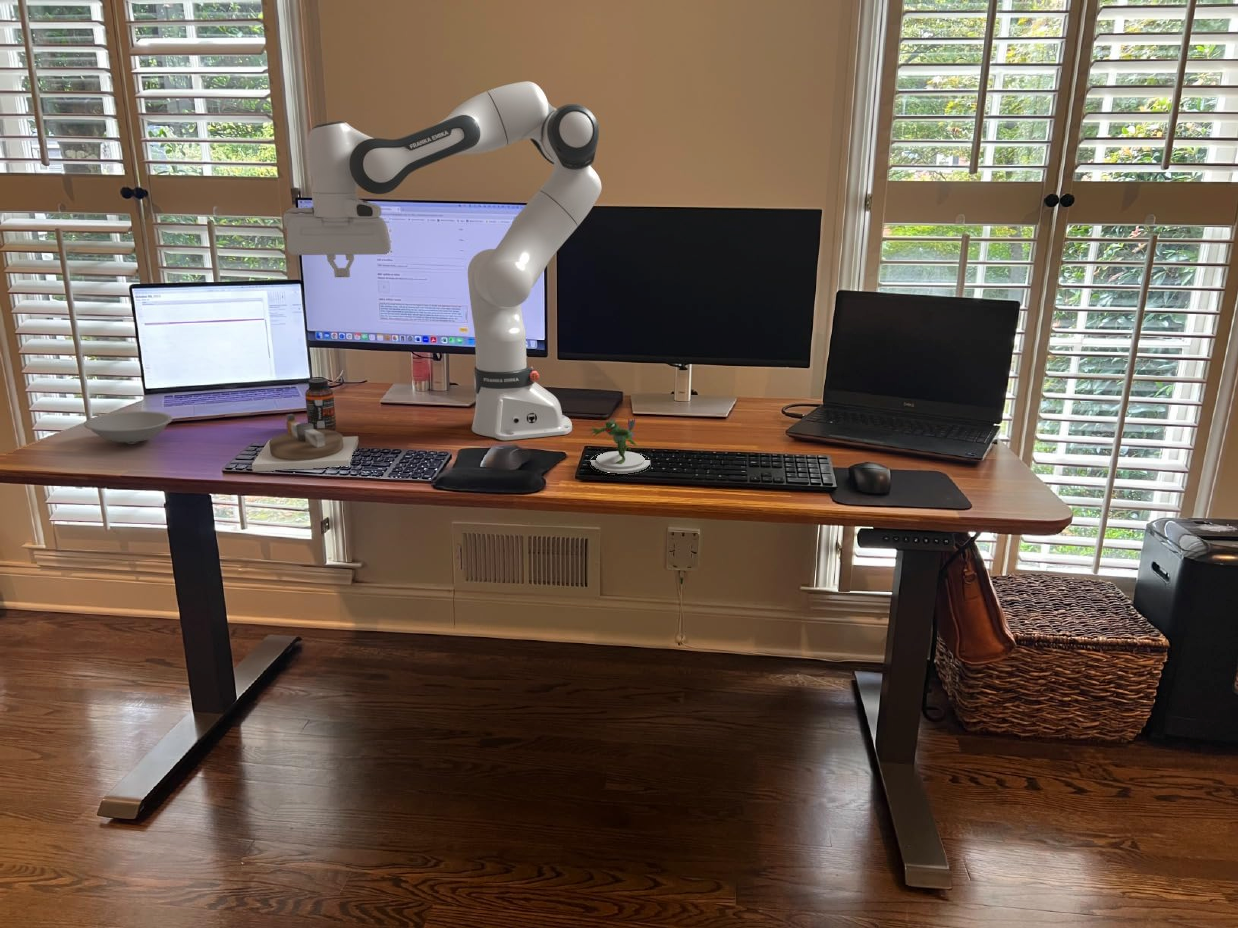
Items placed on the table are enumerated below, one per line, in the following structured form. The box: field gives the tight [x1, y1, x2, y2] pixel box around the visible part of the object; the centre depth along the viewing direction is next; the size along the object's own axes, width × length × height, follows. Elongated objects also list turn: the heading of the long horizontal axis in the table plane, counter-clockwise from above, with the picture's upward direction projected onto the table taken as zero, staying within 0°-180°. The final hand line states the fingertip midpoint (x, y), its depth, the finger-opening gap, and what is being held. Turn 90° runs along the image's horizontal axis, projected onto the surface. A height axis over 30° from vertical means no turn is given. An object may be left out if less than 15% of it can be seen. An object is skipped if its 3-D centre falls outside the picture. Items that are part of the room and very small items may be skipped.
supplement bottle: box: [304, 377, 337, 431], centre depth 195 cm, size 6×6×11 cm
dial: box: [269, 420, 344, 460], centre depth 178 cm, size 14×14×5 cm
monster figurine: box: [588, 418, 651, 475], centre depth 174 cm, size 12×12×10 cm
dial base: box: [251, 413, 359, 473], centre depth 178 cm, size 18×16×7 cm
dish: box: [83, 410, 173, 445], centre depth 186 cm, size 18×14×5 cm
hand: (342, 277), depth 182 cm, fingers closed
